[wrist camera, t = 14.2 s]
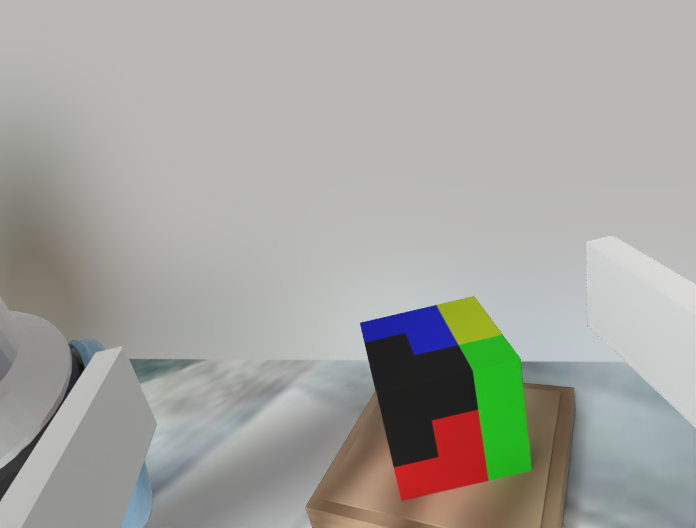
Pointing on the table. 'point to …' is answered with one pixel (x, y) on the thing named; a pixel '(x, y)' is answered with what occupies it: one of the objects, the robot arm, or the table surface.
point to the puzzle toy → (448, 397)
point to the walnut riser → (456, 504)
